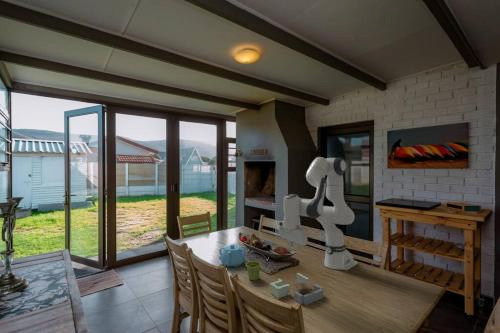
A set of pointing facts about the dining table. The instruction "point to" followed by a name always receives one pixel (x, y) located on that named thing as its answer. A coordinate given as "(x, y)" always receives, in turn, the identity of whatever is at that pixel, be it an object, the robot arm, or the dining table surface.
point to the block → (303, 288)
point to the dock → (309, 296)
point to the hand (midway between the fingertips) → (293, 249)
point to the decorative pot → (232, 255)
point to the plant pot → (253, 270)
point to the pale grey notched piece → (285, 286)
